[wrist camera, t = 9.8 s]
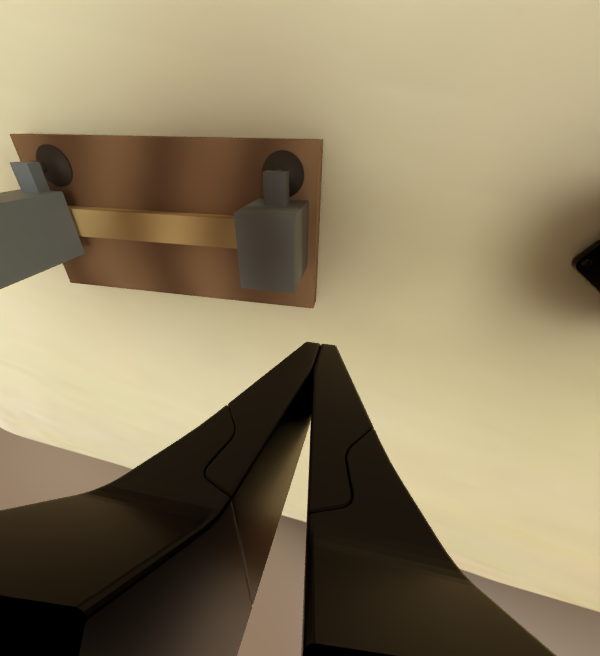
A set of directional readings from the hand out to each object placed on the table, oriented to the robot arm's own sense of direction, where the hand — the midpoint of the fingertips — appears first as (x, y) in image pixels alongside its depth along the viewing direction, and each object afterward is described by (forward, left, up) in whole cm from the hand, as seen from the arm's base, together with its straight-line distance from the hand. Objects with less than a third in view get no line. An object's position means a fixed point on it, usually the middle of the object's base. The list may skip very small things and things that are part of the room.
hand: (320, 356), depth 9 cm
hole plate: (+10, +7, -13) cm, 17 cm away
